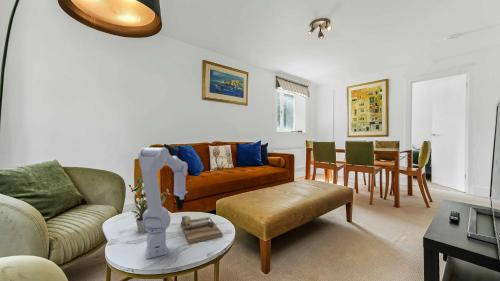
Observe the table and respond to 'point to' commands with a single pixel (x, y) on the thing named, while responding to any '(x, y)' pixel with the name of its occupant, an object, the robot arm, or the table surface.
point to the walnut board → (200, 231)
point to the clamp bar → (198, 223)
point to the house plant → (140, 216)
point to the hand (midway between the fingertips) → (179, 209)
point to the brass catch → (187, 220)
